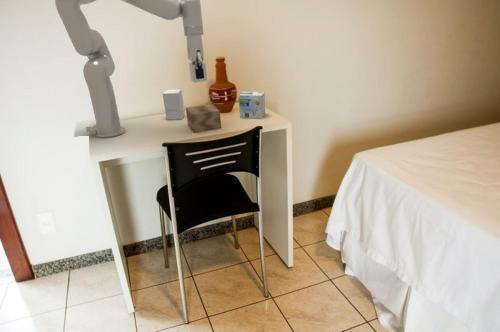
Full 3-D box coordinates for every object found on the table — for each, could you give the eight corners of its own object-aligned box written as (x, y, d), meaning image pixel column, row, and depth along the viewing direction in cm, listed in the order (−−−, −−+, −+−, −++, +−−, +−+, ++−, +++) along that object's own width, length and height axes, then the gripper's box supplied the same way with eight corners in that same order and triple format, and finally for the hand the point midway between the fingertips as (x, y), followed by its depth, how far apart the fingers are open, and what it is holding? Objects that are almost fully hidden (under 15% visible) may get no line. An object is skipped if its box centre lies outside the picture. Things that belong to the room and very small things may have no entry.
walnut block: (193, 133, 166) (191, 114, 163) (187, 125, 177) (185, 107, 173) (221, 128, 170) (219, 110, 166) (213, 121, 180) (212, 103, 177)
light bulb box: (239, 117, 182) (238, 94, 178) (244, 113, 188) (242, 91, 183) (262, 118, 179) (261, 95, 175) (265, 114, 185) (265, 91, 180)
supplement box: (185, 115, 191) (182, 88, 186) (181, 119, 184) (178, 92, 179) (170, 115, 192) (166, 89, 187) (166, 120, 185) (162, 93, 180)
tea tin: (193, 82, 162) (191, 65, 159) (191, 80, 166) (189, 63, 164) (207, 80, 163) (205, 63, 160) (204, 78, 168) (202, 61, 165)
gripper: (180, 30, 163) (185, 74, 171) (188, 34, 148) (194, 82, 156) (198, 29, 165) (202, 72, 173) (208, 32, 150) (212, 79, 158)
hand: (198, 76), depth 164 cm, fingers closed on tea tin, 5 cm apart
